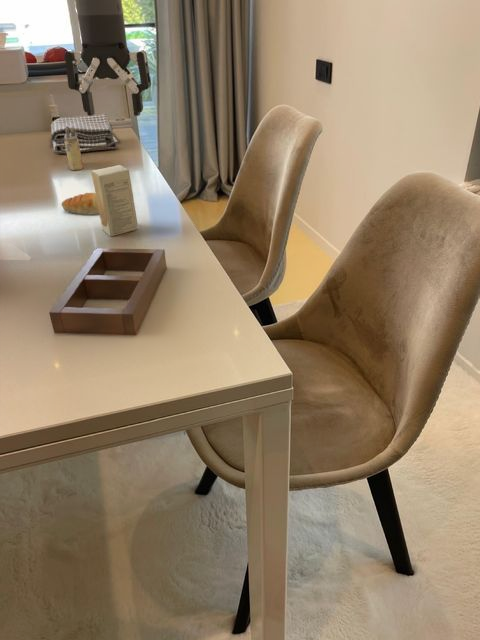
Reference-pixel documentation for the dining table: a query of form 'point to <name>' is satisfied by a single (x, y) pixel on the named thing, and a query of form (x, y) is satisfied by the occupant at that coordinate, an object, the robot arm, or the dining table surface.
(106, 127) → the towel
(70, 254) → the dining table surface
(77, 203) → the pastry
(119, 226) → the cosmetic box
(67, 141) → the pale yellow bottle
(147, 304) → the stand
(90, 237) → the dining table surface
